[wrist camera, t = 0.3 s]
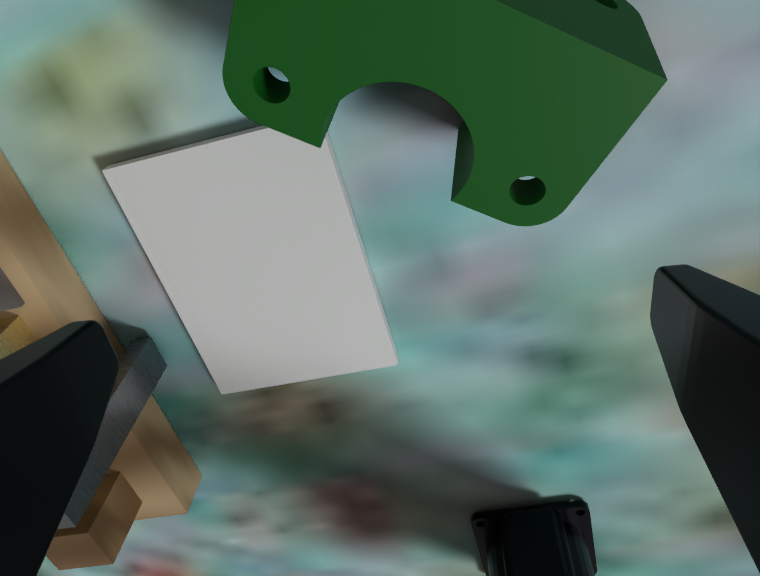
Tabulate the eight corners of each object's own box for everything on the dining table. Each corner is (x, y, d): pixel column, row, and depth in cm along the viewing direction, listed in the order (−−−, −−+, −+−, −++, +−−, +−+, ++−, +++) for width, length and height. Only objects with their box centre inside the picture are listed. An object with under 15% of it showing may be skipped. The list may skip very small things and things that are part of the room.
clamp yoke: (167, 365, 29) (75, 526, 21) (-18, 399, 31) (-162, 557, 23) (150, 336, 28) (49, 494, 20) (-40, 373, 30) (-197, 529, 22)
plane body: (202, 475, 33) (162, 575, 28) (94, 490, 35) (38, 588, 30) (-36, 91, 22) (-170, 142, 17) (-181, 134, 24) (-344, 194, 19)
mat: (398, 356, 28) (397, 365, 27) (225, 386, 30) (221, 394, 29) (320, 110, 22) (317, 115, 21) (108, 165, 24) (101, 170, 23)
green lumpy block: (336, 17, 24) (172, 74, 18) (387, -149, 20) (196, -150, 14) (580, 182, 23) (493, 309, 16) (691, 40, 18) (633, 136, 12)
